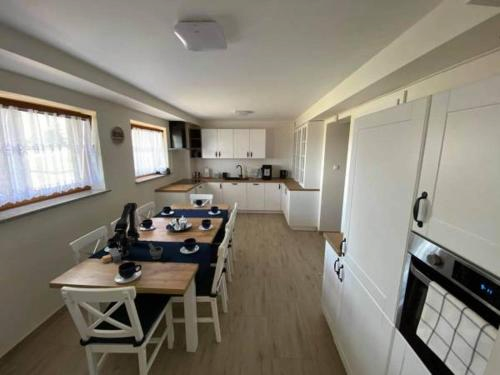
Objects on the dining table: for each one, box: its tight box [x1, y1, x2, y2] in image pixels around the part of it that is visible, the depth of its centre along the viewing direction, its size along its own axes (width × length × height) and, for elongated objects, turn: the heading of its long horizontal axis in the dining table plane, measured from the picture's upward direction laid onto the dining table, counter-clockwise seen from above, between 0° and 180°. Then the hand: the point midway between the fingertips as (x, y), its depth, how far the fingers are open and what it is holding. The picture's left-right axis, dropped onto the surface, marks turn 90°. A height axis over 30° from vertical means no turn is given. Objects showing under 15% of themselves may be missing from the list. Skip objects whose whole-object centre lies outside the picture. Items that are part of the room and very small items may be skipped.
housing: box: [108, 247, 122, 264], centre depth 169 cm, size 5×16×6 cm, turn 43°
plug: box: [100, 250, 130, 264], centre depth 169 cm, size 19×4×4 cm, turn 134°
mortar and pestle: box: [148, 242, 164, 260], centre depth 171 cm, size 11×9×12 cm
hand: (124, 254), depth 174 cm, fingers closed on plug, 3 cm apart
